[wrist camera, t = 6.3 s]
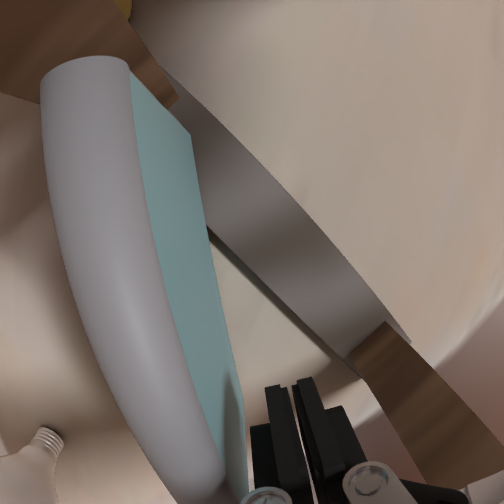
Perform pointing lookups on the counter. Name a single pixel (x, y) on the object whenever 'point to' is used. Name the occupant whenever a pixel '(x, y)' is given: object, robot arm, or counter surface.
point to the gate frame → (267, 237)
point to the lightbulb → (31, 471)
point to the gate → (145, 273)
